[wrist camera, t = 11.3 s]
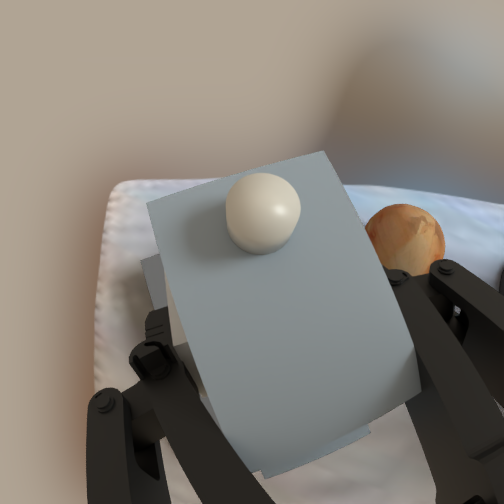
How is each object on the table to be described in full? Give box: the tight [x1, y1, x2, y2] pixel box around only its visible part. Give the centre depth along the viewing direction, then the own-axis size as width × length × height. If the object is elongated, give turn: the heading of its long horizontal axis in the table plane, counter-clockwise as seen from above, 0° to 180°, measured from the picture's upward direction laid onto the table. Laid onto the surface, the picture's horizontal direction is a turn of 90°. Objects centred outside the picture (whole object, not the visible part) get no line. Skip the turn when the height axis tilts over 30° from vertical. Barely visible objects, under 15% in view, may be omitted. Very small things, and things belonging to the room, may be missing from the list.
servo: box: [146, 151, 422, 479], centre depth 12 cm, size 13×5×12 cm, turn 21°
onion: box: [365, 204, 445, 276], centre depth 32 cm, size 10×10×10 cm
